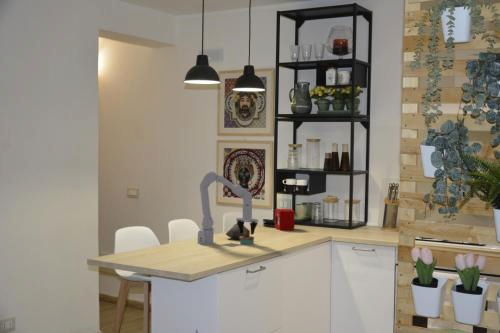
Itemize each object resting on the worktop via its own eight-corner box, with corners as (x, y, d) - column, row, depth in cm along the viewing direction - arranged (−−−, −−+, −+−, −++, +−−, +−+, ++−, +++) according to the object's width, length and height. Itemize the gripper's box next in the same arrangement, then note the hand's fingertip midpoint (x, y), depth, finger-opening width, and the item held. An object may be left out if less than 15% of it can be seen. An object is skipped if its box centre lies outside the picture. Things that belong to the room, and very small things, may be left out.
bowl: (247, 245, 369) (247, 239, 369) (237, 244, 375) (237, 238, 374) (256, 244, 375) (256, 238, 375) (246, 242, 380) (246, 237, 380)
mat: (232, 247, 362) (232, 246, 362) (220, 245, 368) (220, 244, 368) (243, 245, 369) (243, 245, 369) (231, 243, 376) (231, 243, 376)
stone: (255, 221, 396) (241, 223, 384) (256, 237, 396) (243, 240, 383) (233, 223, 407) (219, 225, 394) (234, 239, 406) (220, 241, 394)
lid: (249, 240, 368) (249, 231, 368) (236, 238, 373) (236, 230, 373) (256, 238, 376) (256, 230, 376) (244, 237, 381) (244, 229, 381)
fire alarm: (274, 228, 459) (274, 208, 458) (288, 227, 461) (288, 208, 460) (279, 230, 443) (279, 210, 442) (294, 230, 445) (294, 210, 444)
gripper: (233, 211, 375) (233, 233, 375) (254, 212, 367) (253, 235, 367) (239, 210, 381) (239, 232, 381) (260, 212, 373) (259, 234, 373)
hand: (246, 233), depth 375 cm, fingers open, 7 cm apart
